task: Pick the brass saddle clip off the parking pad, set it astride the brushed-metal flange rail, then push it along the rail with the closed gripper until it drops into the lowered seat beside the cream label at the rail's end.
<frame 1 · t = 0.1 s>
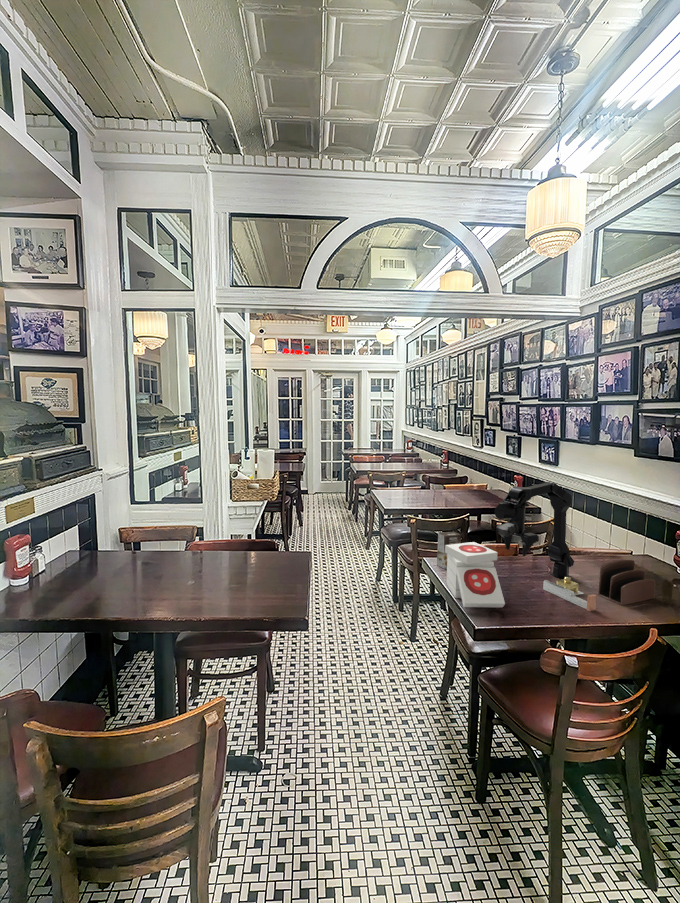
hand: (515, 552, 184), 15 cm above the table, fingers open, 9 cm apart
clip saddle: (566, 590, 180), resting on parking pad
pizza boxes: (473, 596, 174), on the table
parking pad: (566, 591, 180), on the table
letter holder: (626, 598, 175), on the table
flange rail: (544, 589, 182), on the table
coffee box: (448, 566, 208), on the table
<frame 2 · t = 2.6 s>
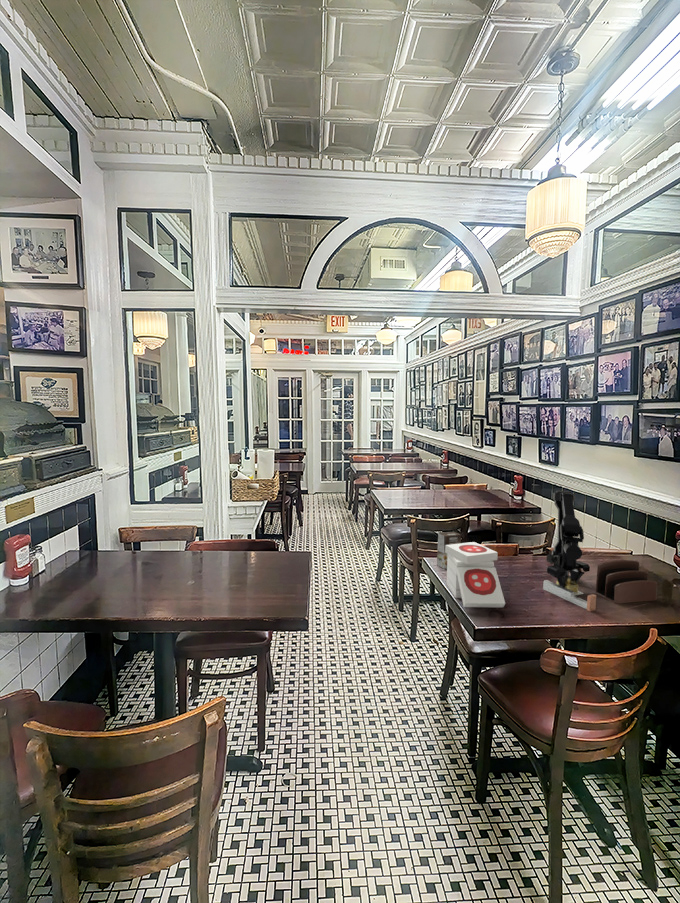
hand: (567, 588, 180), 1 cm above the table, fingers closed on clip saddle, 6 cm apart
clip saddle: (566, 590, 180), resting on parking pad, touching gripper
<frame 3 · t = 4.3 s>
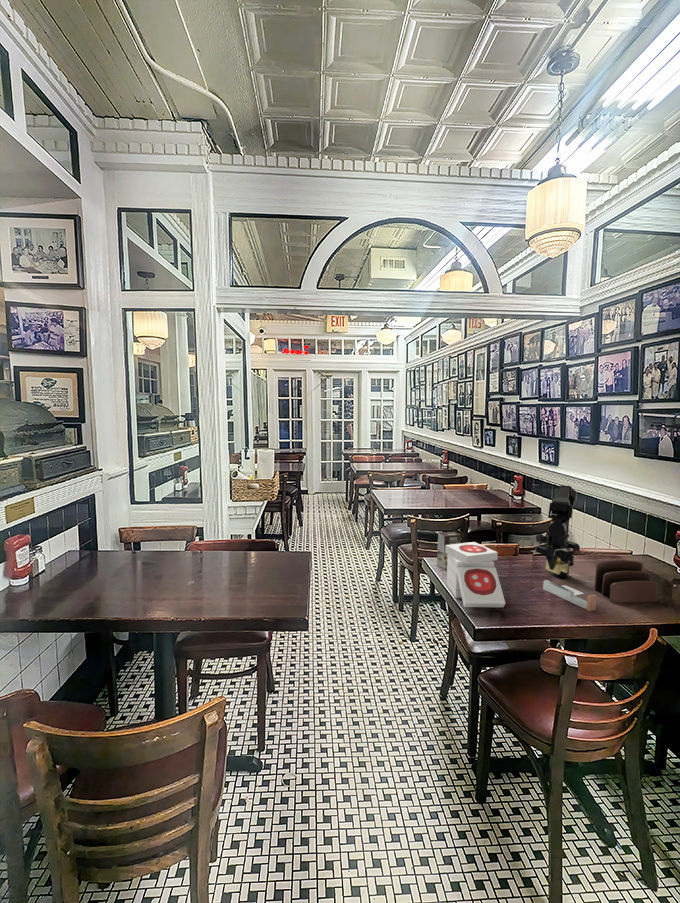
hand: (556, 568, 176), 11 cm above the table, fingers closed on clip saddle, 6 cm apart
clip saddle: (556, 570, 176), point 10 cm above the table, touching gripper
when the fingers open (3 cm above the table, at t = 6.0 s): clip saddle stays where it is, resting on flange rail.
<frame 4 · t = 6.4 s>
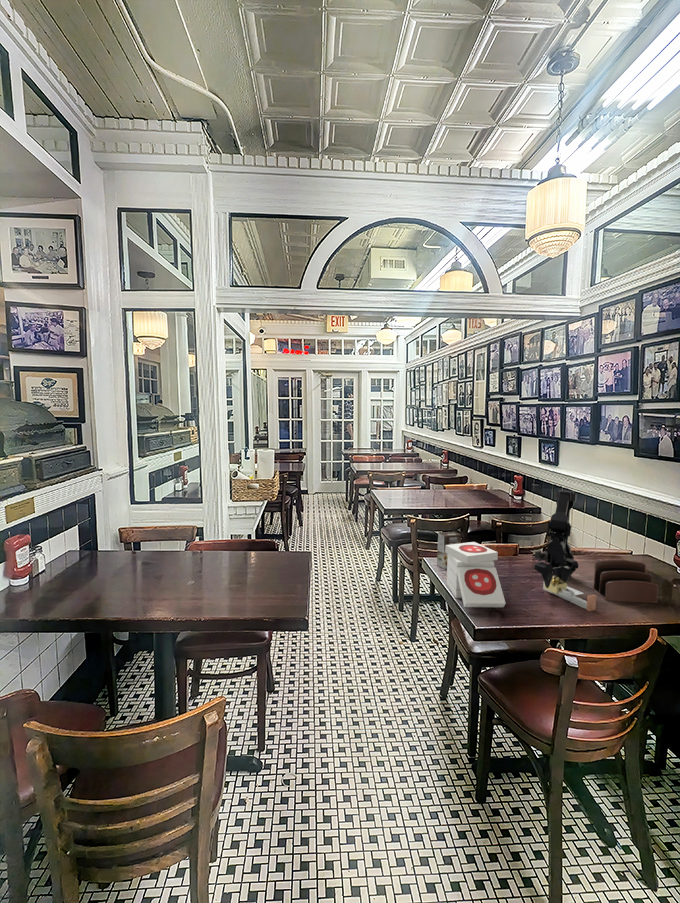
hand: (555, 585, 177), 3 cm above the table, fingers open, 9 cm apart
clip saddle: (555, 589, 177), point 2 cm above the table, touching flange rail
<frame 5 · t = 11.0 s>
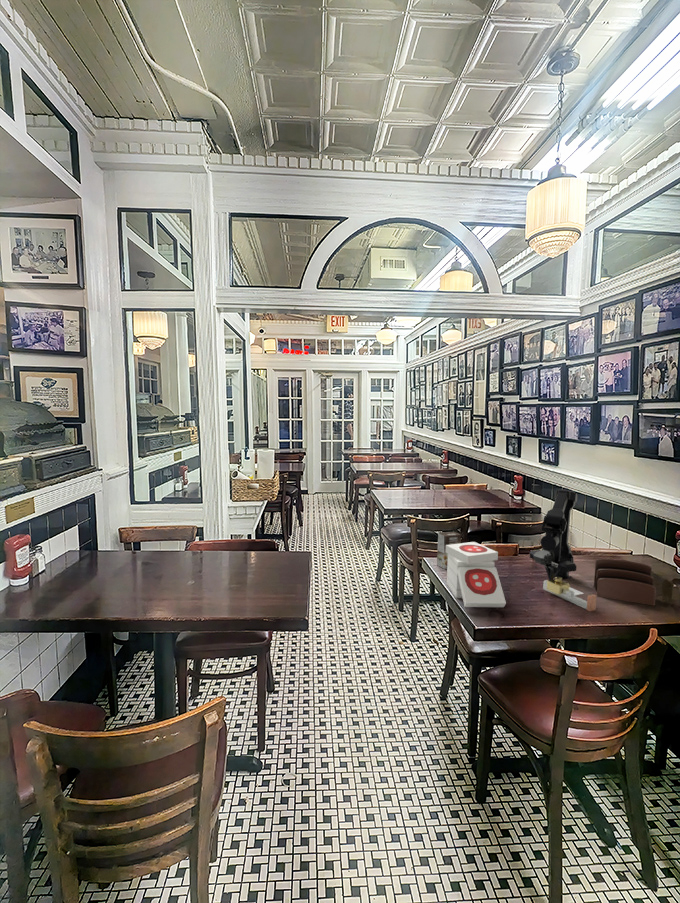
hand: (550, 580, 179), 5 cm above the table, fingers closed
clip saddle: (557, 591, 176), point 2 cm above the table, touching gripper
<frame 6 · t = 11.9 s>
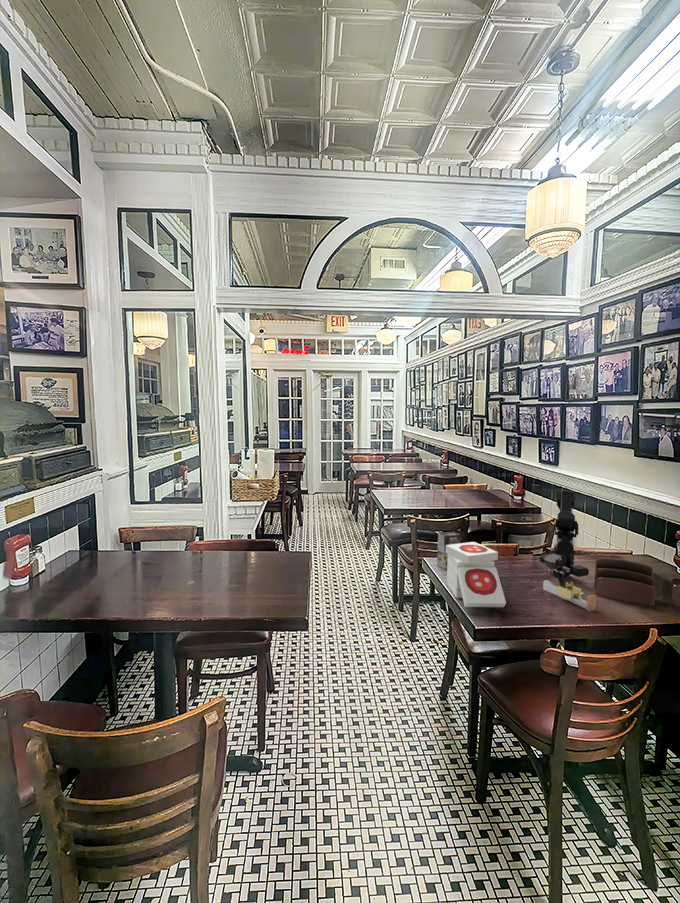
hand: (561, 585, 174), 5 cm above the table, fingers closed
clip saddle: (569, 596, 171), point 2 cm above the table, touching gripper
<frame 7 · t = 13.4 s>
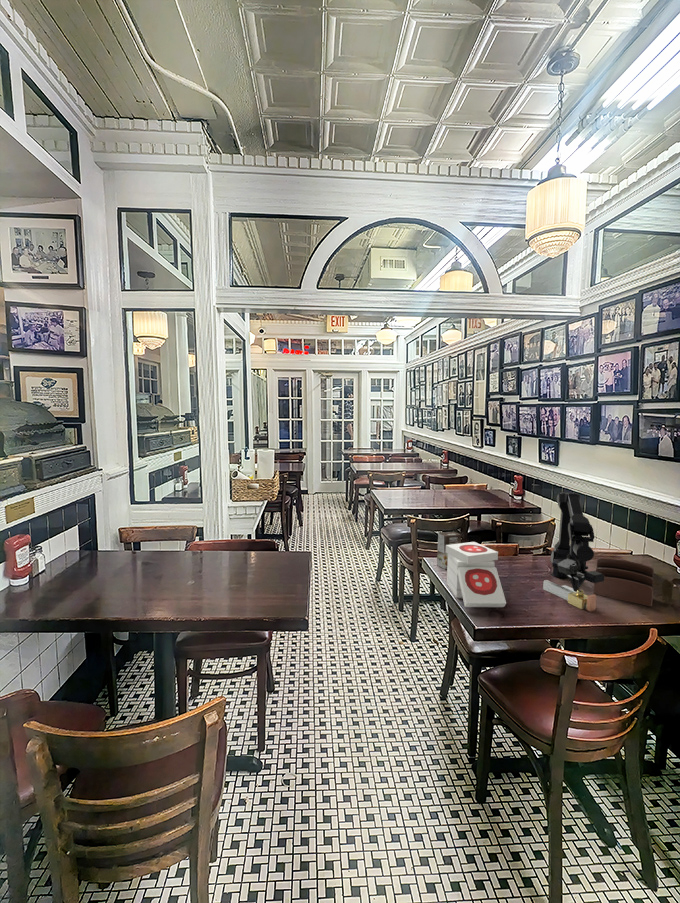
hand: (575, 591, 168), 5 cm above the table, fingers closed
clip saddle: (579, 604, 167), resting on flange rail, touching gripper
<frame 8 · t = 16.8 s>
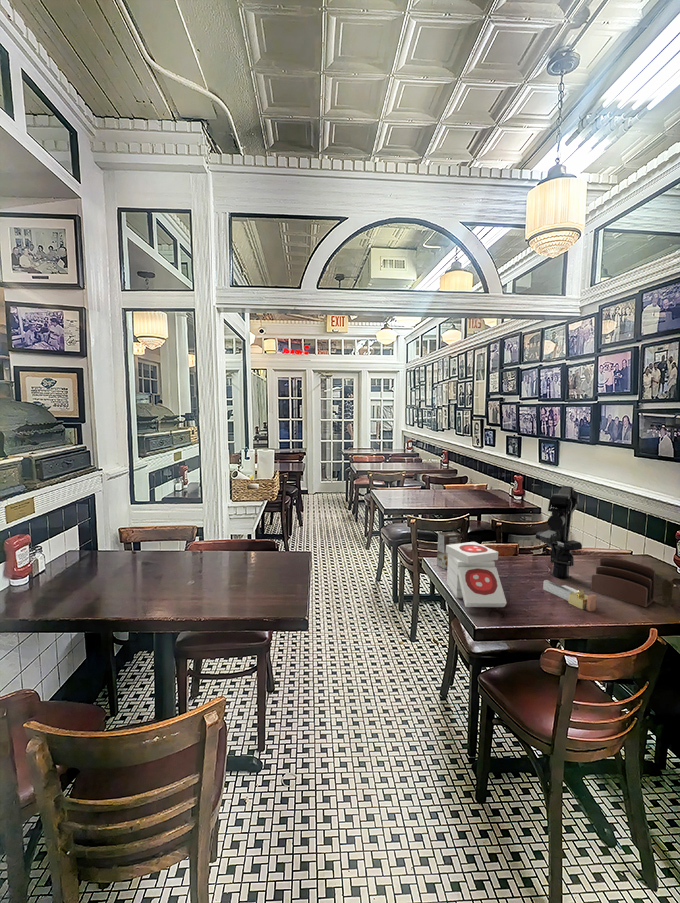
hand: (556, 560, 183), 12 cm above the table, fingers closed
clip saddle: (580, 605, 166), resting on flange rail
at the end: clip saddle 0.4 cm from the target spot on the flange rail, point 0.3 cm above the flange rail's base; clip saddle tilted 0°; the gripper is holding nothing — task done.
